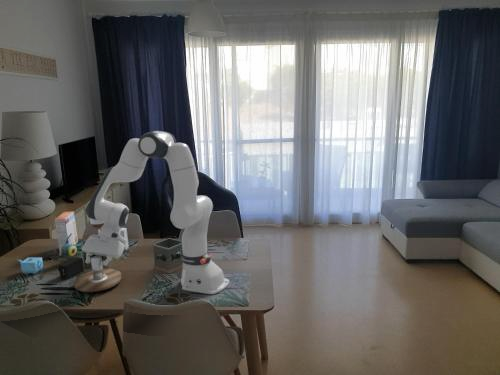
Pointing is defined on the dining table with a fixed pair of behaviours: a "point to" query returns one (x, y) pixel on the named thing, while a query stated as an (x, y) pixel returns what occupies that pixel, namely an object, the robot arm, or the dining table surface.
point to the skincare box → (124, 235)
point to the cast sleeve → (97, 267)
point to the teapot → (31, 265)
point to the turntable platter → (97, 281)
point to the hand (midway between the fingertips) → (95, 264)
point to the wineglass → (96, 224)
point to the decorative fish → (70, 249)
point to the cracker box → (66, 229)
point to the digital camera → (71, 268)
